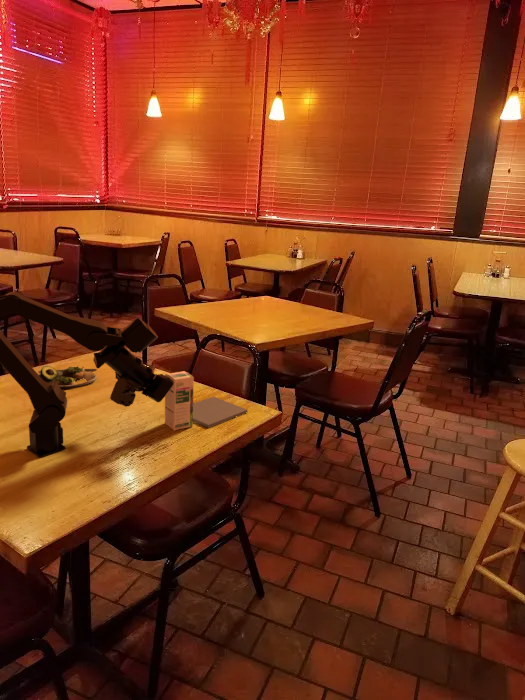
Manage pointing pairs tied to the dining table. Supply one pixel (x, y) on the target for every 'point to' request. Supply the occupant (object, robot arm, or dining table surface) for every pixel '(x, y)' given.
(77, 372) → the salad plate
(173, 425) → the syrup box
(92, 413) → the dining table surface
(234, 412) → the slate board
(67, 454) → the dining table surface
